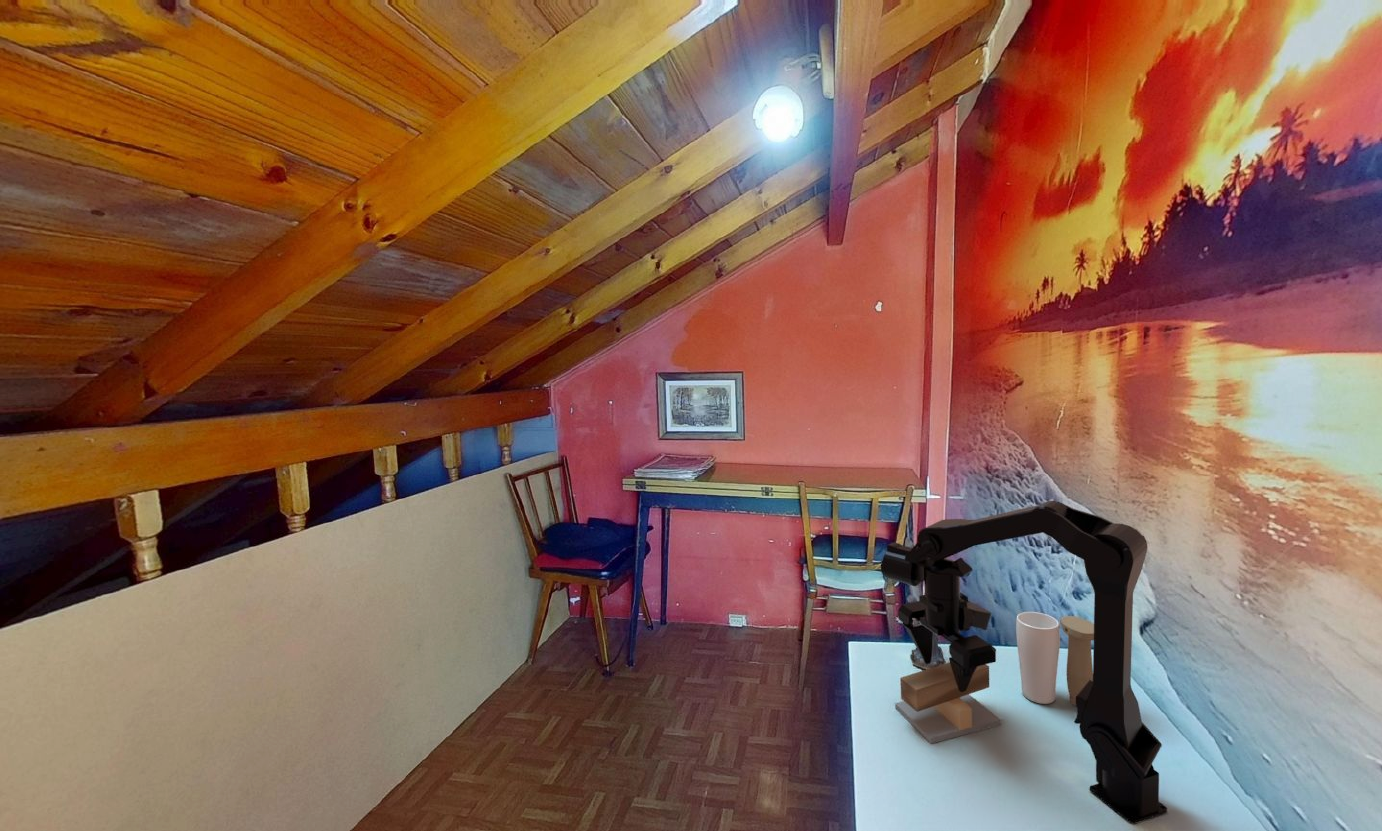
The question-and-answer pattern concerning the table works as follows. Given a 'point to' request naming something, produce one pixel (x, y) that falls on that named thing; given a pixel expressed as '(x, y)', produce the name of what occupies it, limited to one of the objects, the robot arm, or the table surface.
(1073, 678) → the handle
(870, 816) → the table surface
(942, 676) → the batten
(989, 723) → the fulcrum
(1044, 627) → the drinking glass
